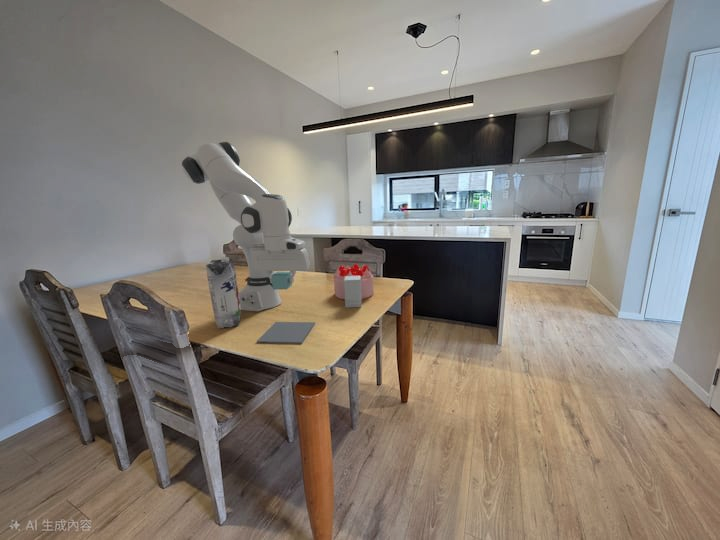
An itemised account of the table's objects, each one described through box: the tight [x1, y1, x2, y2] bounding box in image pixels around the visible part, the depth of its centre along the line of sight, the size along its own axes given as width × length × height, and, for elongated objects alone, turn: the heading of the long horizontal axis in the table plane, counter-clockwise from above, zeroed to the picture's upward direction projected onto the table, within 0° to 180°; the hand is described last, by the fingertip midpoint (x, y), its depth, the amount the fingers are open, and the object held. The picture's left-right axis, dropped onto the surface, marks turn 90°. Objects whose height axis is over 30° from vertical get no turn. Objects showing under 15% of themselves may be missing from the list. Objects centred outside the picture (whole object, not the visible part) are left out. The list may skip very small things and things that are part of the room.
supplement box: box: [344, 276, 363, 308], centre depth 128 cm, size 7×7×13 cm
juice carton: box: [205, 256, 242, 329], centre depth 112 cm, size 9×10×27 cm
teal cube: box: [271, 271, 293, 291], centre depth 100 cm, size 5×5×5 cm
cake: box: [333, 263, 375, 301], centre depth 143 cm, size 20×20×14 cm
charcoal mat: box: [256, 321, 316, 345], centre depth 104 cm, size 16×16×1 cm
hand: (282, 282), depth 100 cm, fingers closed on teal cube, 5 cm apart
